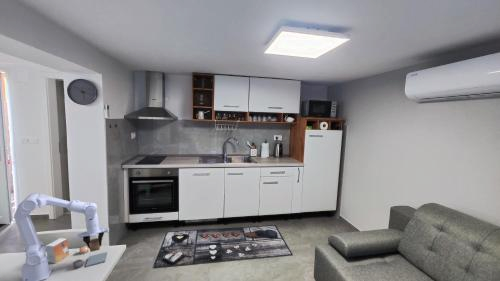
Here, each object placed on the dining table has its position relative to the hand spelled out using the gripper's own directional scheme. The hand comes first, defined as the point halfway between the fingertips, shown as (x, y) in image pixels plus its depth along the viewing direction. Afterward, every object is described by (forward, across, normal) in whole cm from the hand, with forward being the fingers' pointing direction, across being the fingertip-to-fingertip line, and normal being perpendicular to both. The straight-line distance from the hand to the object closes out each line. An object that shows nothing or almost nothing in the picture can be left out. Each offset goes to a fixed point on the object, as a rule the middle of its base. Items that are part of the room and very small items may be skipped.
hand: (95, 246), depth 127 cm
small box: (+9, -20, +12) cm, 25 cm away
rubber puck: (+8, -8, -2) cm, 12 cm away
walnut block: (+1, 0, 0) cm, 1 cm away
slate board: (+8, 0, 0) cm, 8 cm away
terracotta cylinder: (+8, -8, +12) cm, 17 cm away
